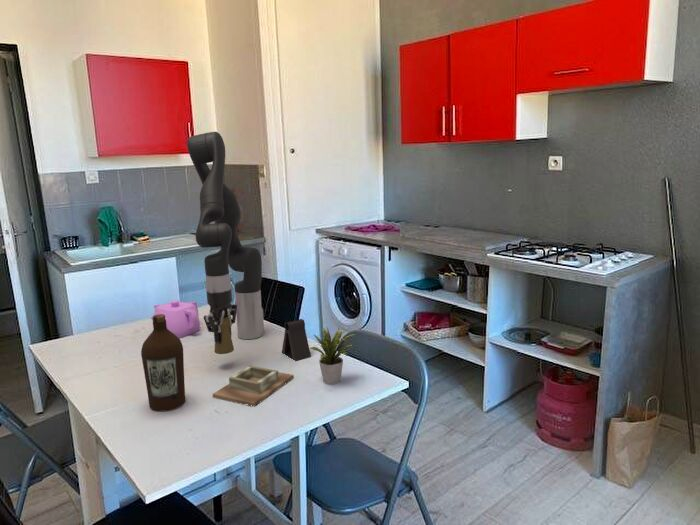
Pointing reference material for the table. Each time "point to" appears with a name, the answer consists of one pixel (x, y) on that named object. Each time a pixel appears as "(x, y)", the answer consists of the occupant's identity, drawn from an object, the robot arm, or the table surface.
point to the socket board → (252, 385)
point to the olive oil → (163, 367)
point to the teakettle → (180, 317)
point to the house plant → (331, 356)
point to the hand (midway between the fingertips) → (223, 340)
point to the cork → (224, 338)
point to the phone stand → (295, 340)
